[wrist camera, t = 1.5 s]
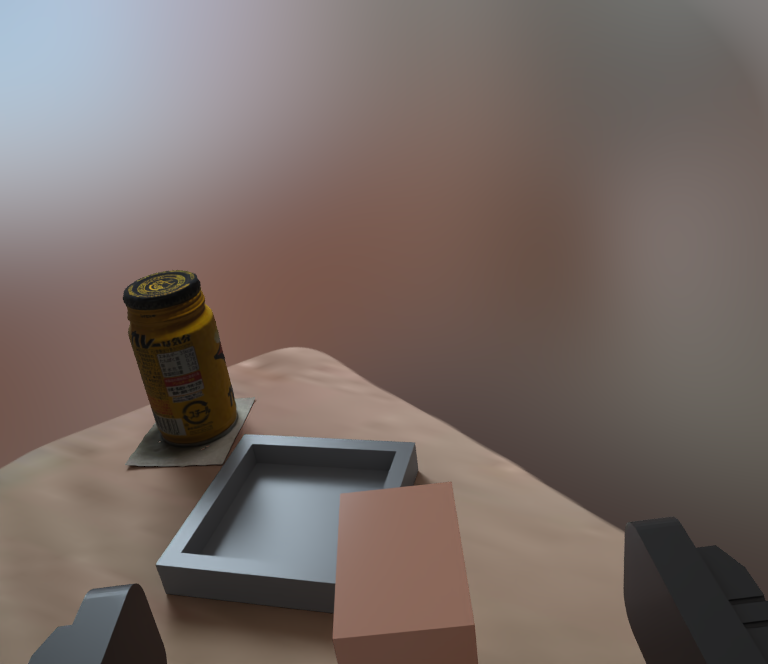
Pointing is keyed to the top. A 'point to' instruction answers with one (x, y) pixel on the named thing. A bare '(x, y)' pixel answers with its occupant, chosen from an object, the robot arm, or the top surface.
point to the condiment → (181, 373)
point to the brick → (402, 579)
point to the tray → (278, 519)
